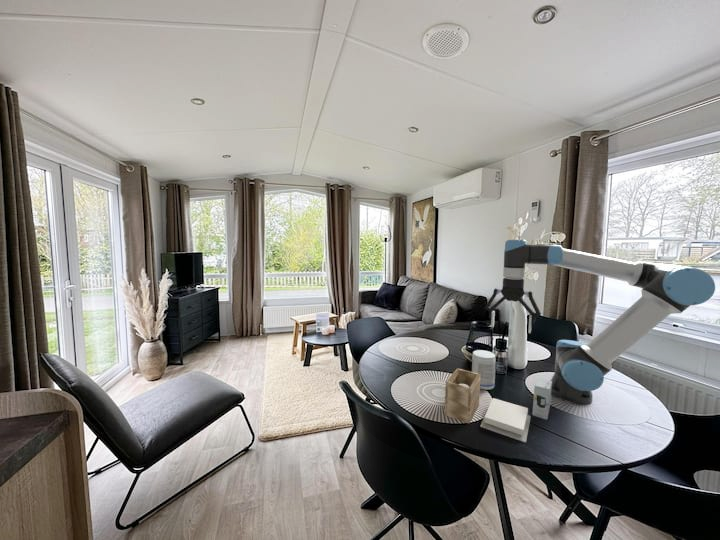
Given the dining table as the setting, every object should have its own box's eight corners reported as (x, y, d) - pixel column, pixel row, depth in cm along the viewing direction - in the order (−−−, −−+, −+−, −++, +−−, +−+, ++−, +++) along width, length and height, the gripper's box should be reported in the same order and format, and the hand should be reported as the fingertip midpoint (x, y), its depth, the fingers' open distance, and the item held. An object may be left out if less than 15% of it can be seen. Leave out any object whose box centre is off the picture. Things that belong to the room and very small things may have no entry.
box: (478, 405, 115) (480, 374, 114) (469, 423, 104) (471, 389, 102) (455, 398, 120) (457, 368, 119) (444, 415, 109) (445, 381, 107)
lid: (527, 416, 108) (528, 408, 107) (522, 439, 95) (523, 429, 95) (492, 405, 114) (492, 397, 114) (484, 425, 102) (484, 417, 102)
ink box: (535, 405, 116) (537, 376, 114) (550, 409, 112) (552, 380, 111) (531, 415, 109) (534, 385, 108) (547, 420, 106) (549, 389, 105)
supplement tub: (498, 386, 130) (500, 355, 128) (486, 392, 124) (487, 359, 123) (479, 378, 138) (480, 348, 136) (466, 383, 133) (468, 352, 131)
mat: (530, 416, 108) (530, 415, 108) (525, 442, 94) (526, 441, 94) (490, 404, 116) (490, 403, 116) (480, 426, 102) (480, 425, 102)
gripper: (550, 279, 113) (546, 332, 116) (482, 274, 127) (480, 322, 130) (550, 281, 107) (546, 337, 109) (478, 276, 121) (476, 326, 123)
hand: (510, 329), depth 120 cm, fingers open, 13 cm apart
